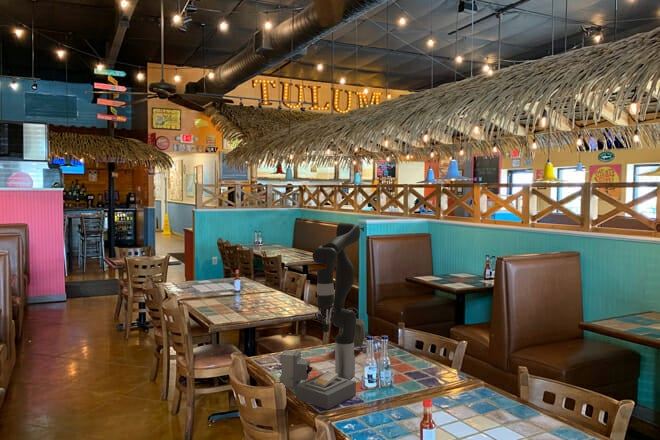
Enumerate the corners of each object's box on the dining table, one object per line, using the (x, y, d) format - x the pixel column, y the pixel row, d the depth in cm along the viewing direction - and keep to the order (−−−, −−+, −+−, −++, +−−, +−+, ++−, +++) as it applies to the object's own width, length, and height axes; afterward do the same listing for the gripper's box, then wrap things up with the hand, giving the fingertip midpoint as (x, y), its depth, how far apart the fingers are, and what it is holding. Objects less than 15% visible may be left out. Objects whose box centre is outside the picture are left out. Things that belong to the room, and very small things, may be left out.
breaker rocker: (327, 373, 228) (327, 370, 227) (338, 376, 224) (338, 373, 224) (313, 384, 220) (313, 381, 220) (324, 387, 216) (324, 384, 216)
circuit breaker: (309, 388, 232) (309, 356, 231) (279, 386, 234) (279, 354, 234) (313, 383, 239) (313, 351, 238) (284, 380, 242) (284, 349, 241)
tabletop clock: (365, 349, 294) (365, 306, 293) (363, 354, 285) (363, 310, 284) (340, 347, 297) (340, 305, 296) (338, 352, 288) (338, 308, 287)
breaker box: (324, 385, 235) (324, 371, 235) (355, 395, 224) (355, 379, 224) (295, 398, 220) (295, 383, 219) (328, 409, 209) (328, 393, 208)
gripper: (327, 289, 229) (328, 327, 230) (309, 294, 218) (309, 334, 219) (341, 291, 224) (341, 329, 225) (322, 296, 214) (323, 336, 215)
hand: (326, 331), depth 222 cm, fingers closed
